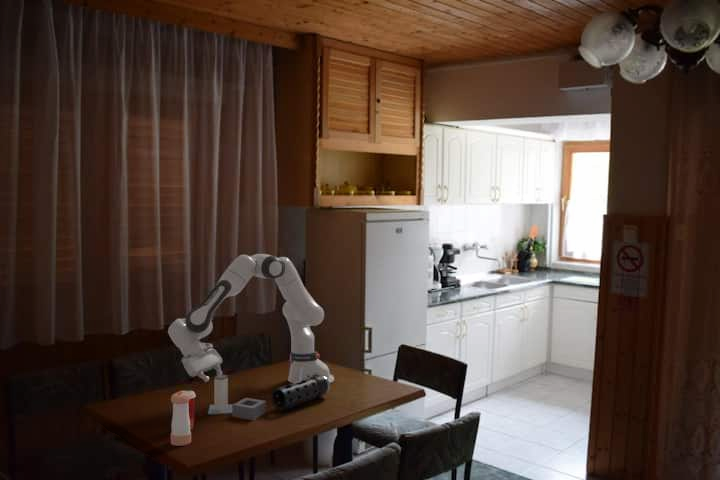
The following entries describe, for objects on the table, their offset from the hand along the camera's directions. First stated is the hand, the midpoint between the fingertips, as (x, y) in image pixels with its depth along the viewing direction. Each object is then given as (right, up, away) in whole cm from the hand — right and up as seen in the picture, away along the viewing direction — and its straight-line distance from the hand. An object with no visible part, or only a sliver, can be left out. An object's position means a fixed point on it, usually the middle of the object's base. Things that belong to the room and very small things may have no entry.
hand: (214, 377), depth 280 cm
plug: (+3, -13, 0) cm, 13 cm away
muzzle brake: (+36, -14, +9) cm, 39 cm away
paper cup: (-7, -15, -21) cm, 27 cm away
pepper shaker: (-5, -17, -35) cm, 39 cm away
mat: (+3, -14, 0) cm, 14 cm away
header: (+16, -14, -5) cm, 22 cm away
